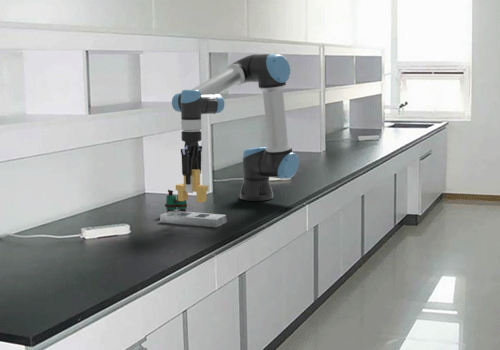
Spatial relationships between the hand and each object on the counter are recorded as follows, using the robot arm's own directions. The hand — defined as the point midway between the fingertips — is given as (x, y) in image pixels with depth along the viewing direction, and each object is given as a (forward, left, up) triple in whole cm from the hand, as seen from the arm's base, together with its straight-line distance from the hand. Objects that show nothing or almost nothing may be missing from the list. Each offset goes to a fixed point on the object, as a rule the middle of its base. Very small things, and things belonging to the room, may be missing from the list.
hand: (192, 191), depth 274 cm
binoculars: (-12, -14, -13) cm, 22 cm away
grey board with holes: (0, 0, -12) cm, 12 cm away
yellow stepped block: (0, 0, -4) cm, 4 cm away
